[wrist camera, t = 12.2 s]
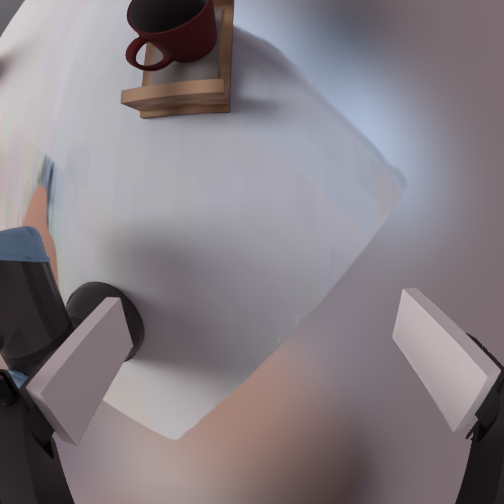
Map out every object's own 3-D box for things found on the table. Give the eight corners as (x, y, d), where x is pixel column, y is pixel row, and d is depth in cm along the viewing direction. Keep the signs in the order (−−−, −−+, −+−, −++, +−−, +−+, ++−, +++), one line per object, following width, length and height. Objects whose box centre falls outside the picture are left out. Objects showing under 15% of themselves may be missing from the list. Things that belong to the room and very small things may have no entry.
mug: (183, 96, 30) (153, 71, 20) (133, 72, 29) (94, 46, 18) (236, 30, 27) (228, -15, 17) (184, 9, 26) (162, -32, 15)
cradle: (143, 118, 32) (120, 110, 25) (156, 6, 26) (140, -16, 19) (229, 112, 32) (223, 99, 25) (234, -3, 26) (230, -30, 19)
